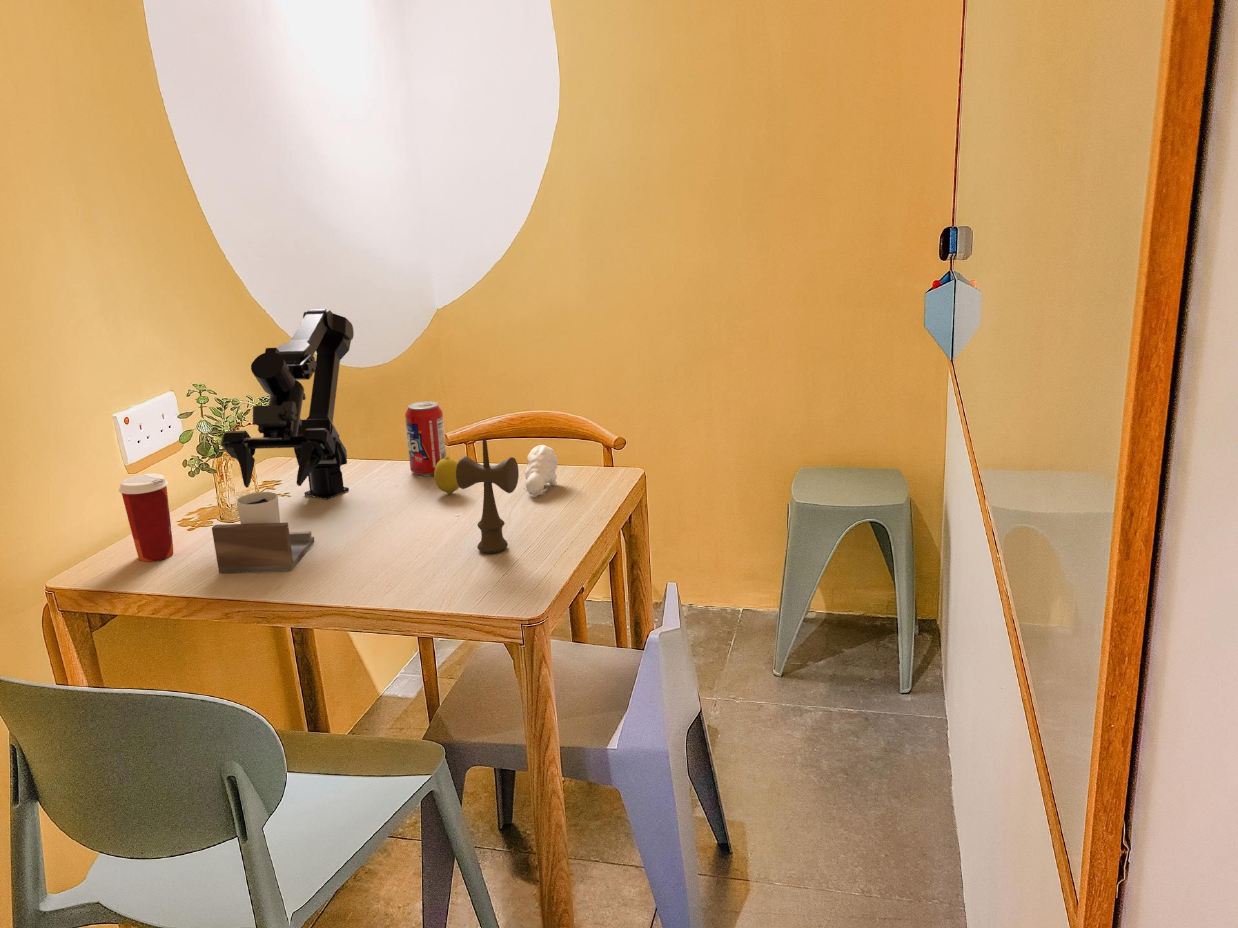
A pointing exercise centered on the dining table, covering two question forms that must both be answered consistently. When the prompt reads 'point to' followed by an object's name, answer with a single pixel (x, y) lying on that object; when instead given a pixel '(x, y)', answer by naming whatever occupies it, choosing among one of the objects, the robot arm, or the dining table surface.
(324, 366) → the robot arm
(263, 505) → the white cup
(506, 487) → the kendama
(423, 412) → the soda can
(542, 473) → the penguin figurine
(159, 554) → the paper cup
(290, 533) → the holder
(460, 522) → the dining table surface
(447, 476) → the lemon
